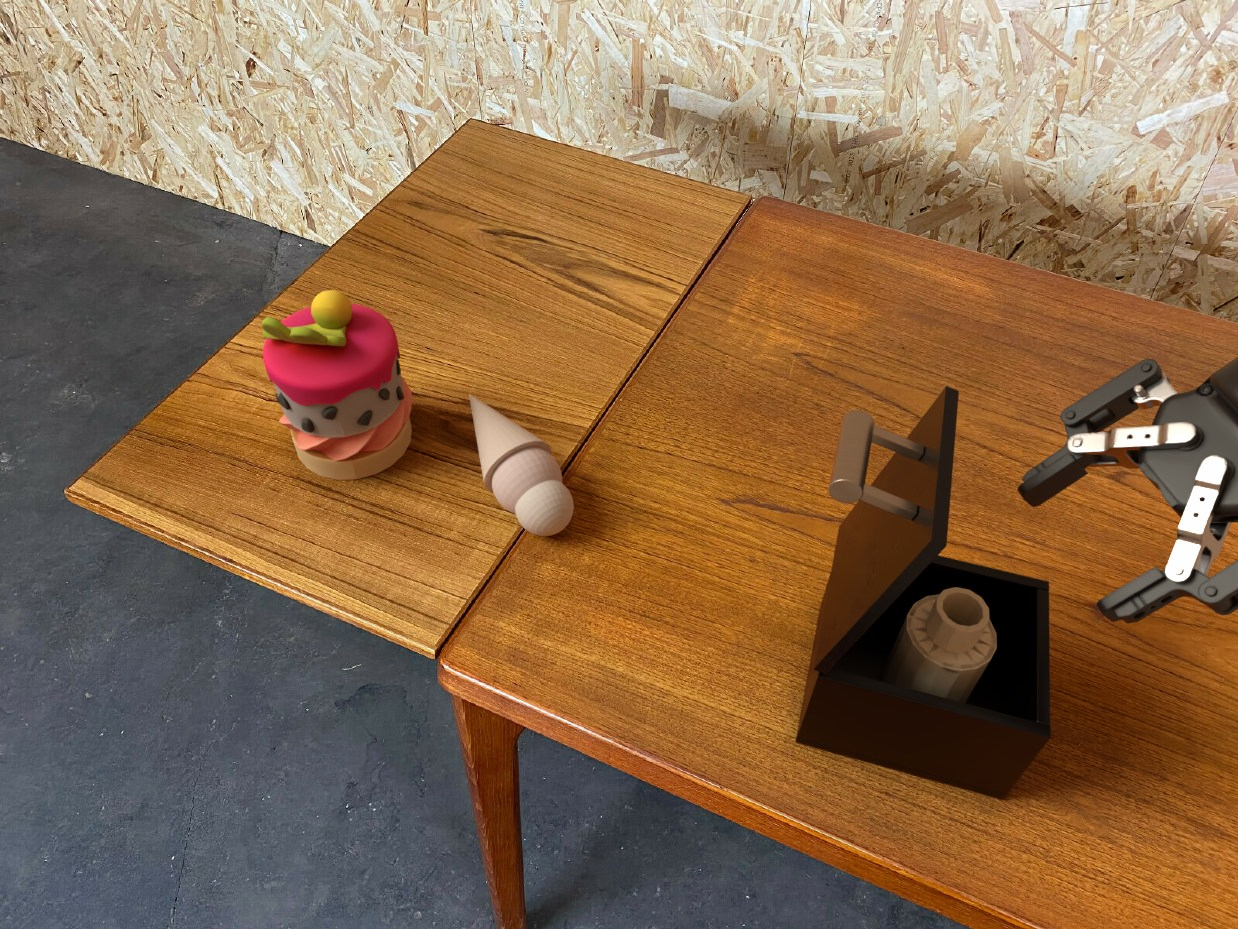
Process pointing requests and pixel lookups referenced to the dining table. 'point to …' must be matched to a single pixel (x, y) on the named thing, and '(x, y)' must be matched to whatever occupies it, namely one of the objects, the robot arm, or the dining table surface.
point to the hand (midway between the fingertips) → (1062, 553)
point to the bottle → (943, 645)
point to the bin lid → (885, 519)
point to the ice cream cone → (521, 472)
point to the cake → (339, 386)
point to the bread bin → (931, 725)
